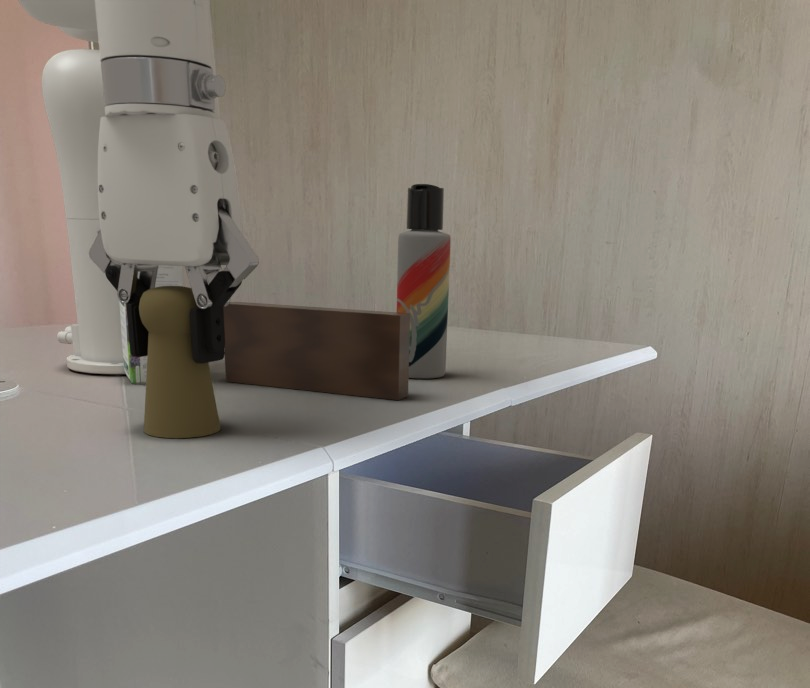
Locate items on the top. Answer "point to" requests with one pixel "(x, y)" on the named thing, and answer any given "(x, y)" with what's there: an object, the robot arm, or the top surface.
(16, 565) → the top surface
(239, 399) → the top surface
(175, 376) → the cork
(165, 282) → the syrup box
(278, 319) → the brown wooden block
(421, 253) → the lotion bottle
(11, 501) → the top surface
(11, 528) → the top surface
